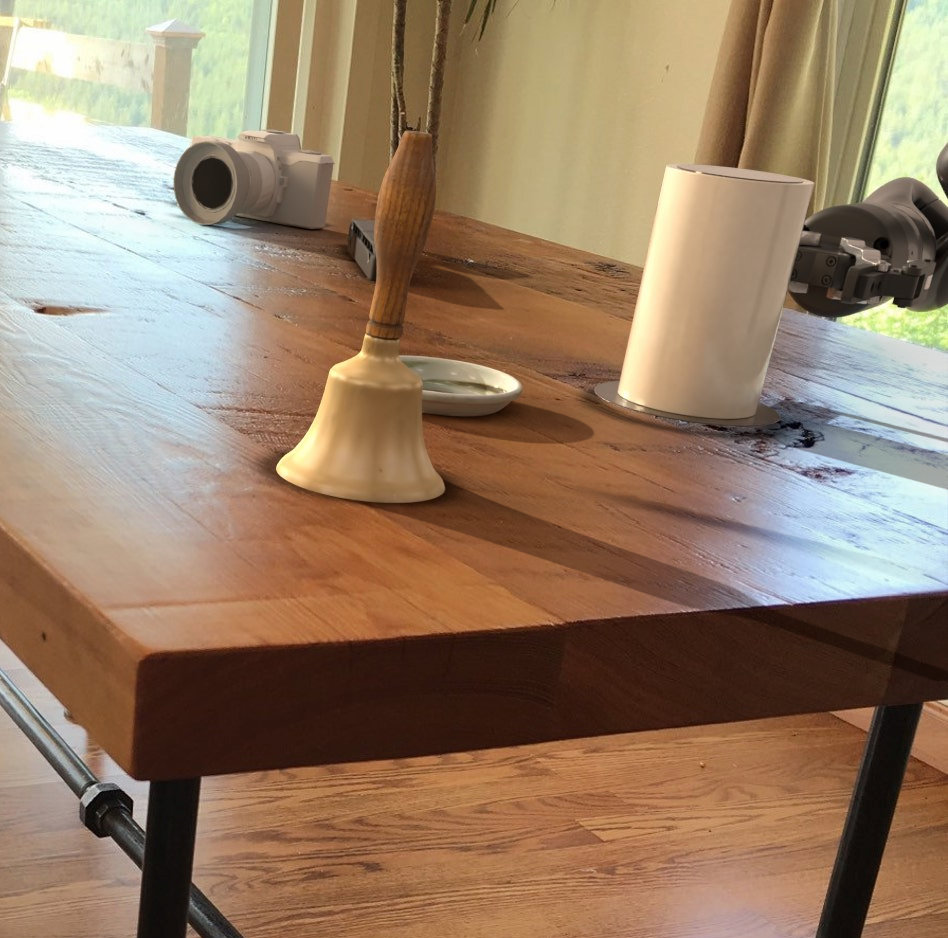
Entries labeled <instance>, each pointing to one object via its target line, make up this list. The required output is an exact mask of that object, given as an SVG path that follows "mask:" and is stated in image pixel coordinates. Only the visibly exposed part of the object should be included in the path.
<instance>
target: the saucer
mask: <svg viewBox="0 0 948 938" xmlns="http://www.w3.org/2000/svg"><path fill="white" fill-rule="evenodd" d="M399 358H400V360H401V361H402V362H403V363H404V364H405V365H406V366H407V367H408V368H409V369H410V370H412V371H413V372H415V373H416V374H418V375H419V377H420V378H421V379H422V383H423V391H422V414H426V415H427V414H430V415H436V416H445V417H449V416H450V417H482V416H488V415H489V416H490V415H492V414H495V413H497V412H500V411H501V410H502V409H504V408H505V407H506V406H508V405H509V404H510V403H511V402H512V401H515V400H517V399H518V398H520V396H522V393H523V390H524V389H523V385H522V383H521V382H520V381H519V380H518V379H517V378H515V377H514V376H512V375H511V374H508V373H506V372H503V371H501V370H498V369H495V368H491V367H488V366H484V365H480V364H477V363H472V362H468V361H467V362H466V361H461V360H456V359H455V360H454V359H450V358H449V359H448V358H440V357H430V356H420V355H399Z"/></svg>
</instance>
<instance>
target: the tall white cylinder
mask: <svg viewBox="0 0 948 938" xmlns="http://www.w3.org/2000/svg"><path fill="white" fill-rule="evenodd" d="M661 182H662V183H661V187H660V190H659V196H658V200H657V205H656V209H655V214H654V219H653V224H652V228H651V233H650V237H649V242H648V247H647V252H646V256H645V260H644V266H643V270H642V275H641V280H640V284H639V289H638V293H637V299H636V302H635V307H634V312H633V317H632V322H631V326H630V330H629V335H628V340H627V345H626V349H625V355H624V359H623V363H622V368H621V373H620V378H619V381H620V382H619V386H618V394H619V395H620V396H621V397H623V398H624V399H626V400H628V401H630V402H633V403H636V404H638V405H641V406H645V407H648V408H652V409H656V410H660V411H664V412H669V413H674V414H680V415H686V416H694V417H702V418H714V419H741V418H748V417H751V416H754V415H755V414H756V413H757V409H758V405H759V402H760V400H761V398H762V393H763V389H764V385H765V381H766V378H767V373H768V370H769V366H770V362H771V357H772V354H773V350H774V346H775V342H776V338H777V333H778V330H779V326H780V322H781V318H782V314H783V310H784V306H785V302H786V298H787V295H788V287H789V283H790V279H791V275H792V271H793V267H794V263H795V259H796V255H797V251H798V247H799V243H800V239H801V236H802V232H803V228H804V224H805V220H806V219H807V215H808V211H809V207H810V205H811V204H810V203H811V200H812V197H813V196H812V195H813V193H814V192H813V191H814V188H815V182H813V181H812V180H809V179H805V178H802V177H796V176H791V175H787V174H786V175H785V174H781V173H774V172H770V171H769V172H768V171H761V170H755V169H747V168H739V167H729V166H719V165H709V164H693V163H691V164H690V163H669V164H666V165H665V167H664V172H663V177H662V181H661Z"/></svg>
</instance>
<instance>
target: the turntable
mask: <svg viewBox="0 0 948 938" xmlns="http://www.w3.org/2000/svg"><path fill="white" fill-rule="evenodd" d="M619 382H620V380H613V381H607V382H602V383H599V384H597V385H596V386H594V389H593V392H594V393H595V395H597V396H598V397H599V398H601V399H602V400H604V401H607V402H609V403H611V404H613V405H615V406H618V407H621V408H623V409H628V410H630V411H634V412H637V413H641V414H646V415H650V416H654V417H657V418H658V417H659V418H664V419H669V420H674V421H681V422H687V423H694V424H700V425H701V424H702V425H711V426H723V427H761V426H767V425H772V424H776V423H777V422H779V421H780V420H781V414H780V413H779V411H776V409H774V408H772V407H770V406H769V405H766V404H764V403H762V402H760V401H759V405H758V409H757V413H756V414H755V415H754V416H751V417H748V418H741V419H714V418H702V417H694V416H686V415H680V414H674V413H669V412H664V411H660V410H656V409H652V408H648V407H645V406H641V405H638V404H636V403H633V402H630V401H628V400H626V399H624V398H623V397H621V396H620V395H619V394H618V386H619Z"/></svg>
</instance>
